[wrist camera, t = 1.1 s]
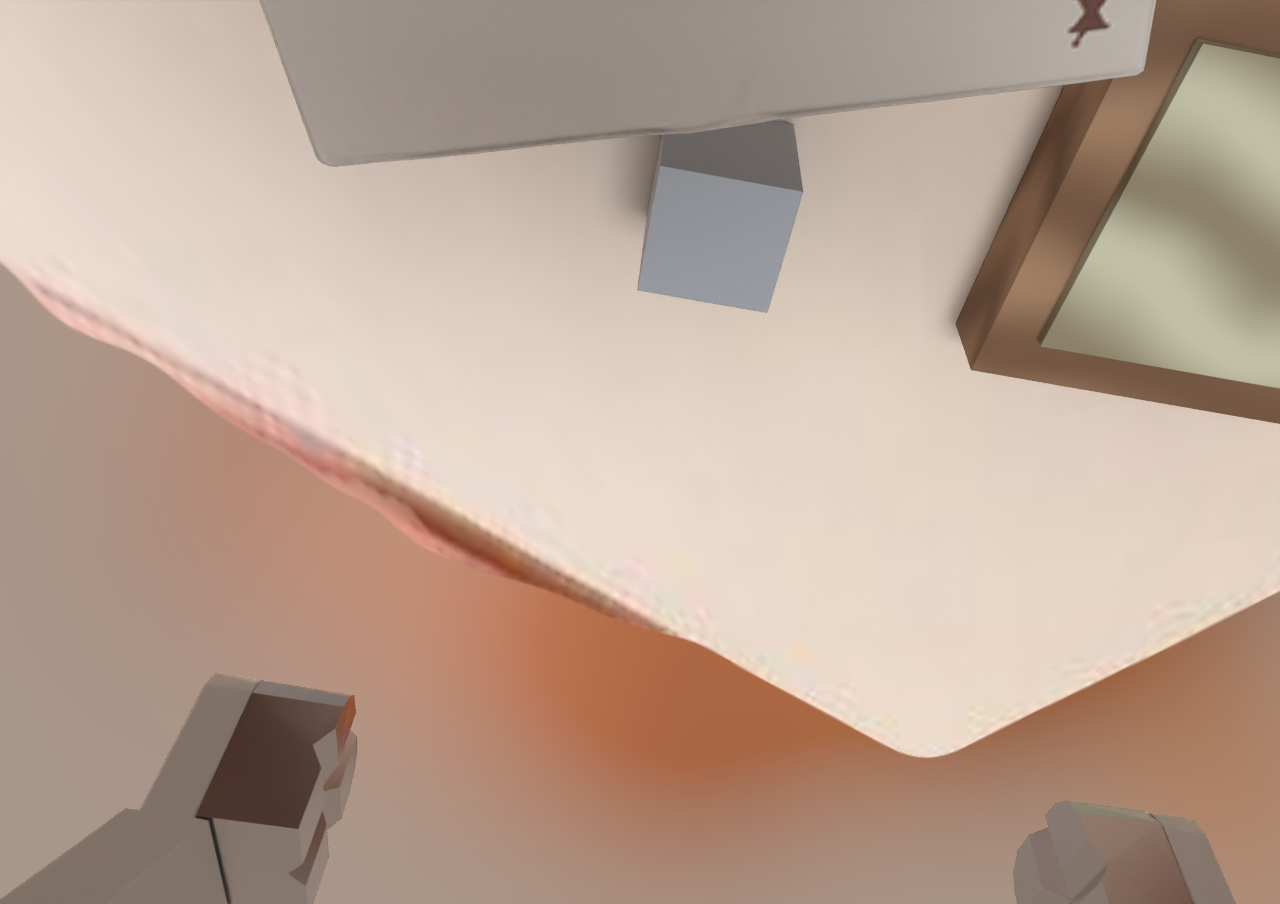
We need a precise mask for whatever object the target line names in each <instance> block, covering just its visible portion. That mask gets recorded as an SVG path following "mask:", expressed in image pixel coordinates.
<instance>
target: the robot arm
mask: <svg viewBox="0 0 1280 904" xmlns="http://www.w3.org/2000/svg"><path fill="white" fill-rule="evenodd" d="M355 714H356V708H355V697H354V695H350V694H344V693H337V692H331V691H324V690H318V689H312V688H306V687H299V686H293V685H287V684H279V683H274V682H267V681H264V680H259V679H252V678H245V677H238V676H231V675H225V674H218V673H215V674H214V676H212V678H211V679H210V680H209V681H208V682H207V683H206V684H205V685H204V687H203V688H202V690H201V692H200V694H199V696H198V698H197V700H196V702H195V704H194V705H193V708H192V709H191V711H190V713H189V715H188V717H187V719H186V721H185V723H184V725H183V727H182V729H181V731H180V733H179V735H178V737H177V739H176V740H175V743H174V745H173V746H172V748H171V750H170V752H169V754H168V756H167V758H166V760H165V762H164V764H163V766H162V768H161V769H160V772H159V773H158V775H157V777H156V779H155V781H154V783H153V785H152V787H151V789H150V791H149V793H148V795H147V797H146V799H145V801H144V803H143V805H142V807H141V808H140V810H138V809H128V808H125V809H124V810H122V811H121V812H120V813H118V814H117V815H116V816H114V817H113V818H111V819H110V820H109V821H107V822H106V823H105V824H103V825H102V826H100V827H99V828H98V829H96V830H95V831H93V832H92V833H91V834H89V835H88V836H87V837H85V838H84V839H83V840H81V841H80V842H78V843H77V844H76V845H74V846H73V847H71V848H70V849H69V850H67V851H66V852H65V853H63V854H62V855H61V856H59V857H58V858H56V859H55V860H54V861H52V862H51V863H49V864H48V865H47V866H46V867H44V868H43V869H42V870H40V871H39V872H37V873H36V874H34V875H33V876H32V877H30V878H29V879H27V880H26V881H25V882H23V883H22V884H21V885H19V886H18V887H16V888H15V889H14V890H12V891H11V892H10V893H8V894H7V895H6V896H4V897H3V898H1V899H0V904H313V902H314V899H315V896H316V893H317V890H318V887H319V884H320V881H321V878H322V875H323V872H324V869H325V866H326V863H327V860H328V857H329V852H328V836H327V830H328V829H329V828H330V827H331V826H333V825H334V824H335V823H336V822H337V821H339V820H340V819H341V818H342V815H343V812H344V809H345V805H346V802H347V799H348V796H349V793H350V788H351V784H352V779H353V775H354V770H355V763H356V755H357V736H356V735H355V734H354V733H353V732H352V731H351V730H350V729H351V726H352V723H353V719H354V717H355ZM1045 816H1046V820H1047V823H1048V828H1045V829H1043V830H1040V831H1038V832H1035V833H1033V834H1030V835H1029V836H1028V837H1027V838H1026V840H1025V841H1024V843H1023V844H1022V845H1021V847H1020V848H1019V849H1018V851H1017V856H1016V862H1015V867H1014V889H1015V896H1016V900H1017V904H1236V903H1235V901H1234V898H1233V896H1232V894H1231V891H1230V889H1229V887H1228V885H1227V882H1226V880H1225V878H1224V875H1223V873H1222V871H1221V869H1220V866H1219V864H1218V862H1217V860H1216V857H1215V855H1214V853H1213V850H1212V848H1211V846H1210V843H1209V841H1208V839H1207V837H1206V835H1205V833H1204V831H1203V830H1202V829H1201V828H1200V827H1199V825H1198V824H1197V823H1196V822H1195V821H1193V820H1190V819H1187V818H1184V817H1177V816H1169V815H1161V814H1154V813H1146V812H1145V811H1140V810H1133V809H1126V808H1118V807H1110V806H1103V805H1095V804H1088V803H1080V802H1072V801H1063V802H1059V803H1056V804H1054V805H1053V807H1052V808H1051V809H1050V810H1049V811H1048V812H1047V813H1046V815H1045Z"/></svg>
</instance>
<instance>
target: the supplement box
mask: <svg viewBox="0 0 1280 904" xmlns="http://www.w3.org/2000/svg"><path fill="white" fill-rule="evenodd" d="M260 3H261V5H262V8H263V11H264V14H265V17H266V19H267V22H268V25H269V28H270V31H271V33H272V36H273V39H274V42H275V45H276V47H277V50H278V53H279V56H280V58H281V61H282V64H283V67H284V70H285V72H286V75H287V78H288V81H289V84H290V86H291V89H292V92H293V95H294V98H295V100H296V103H297V106H298V109H299V112H300V114H301V117H302V120H303V123H304V125H305V128H306V131H307V133H308V136H309V139H310V142H311V144H312V147H313V150H314V153H315V155H316V157H317V159H318V160H319V161H320V162H321V163H323V164H326V165H328V166H333V167H336V166H347V165H357V164H366V163H375V162H385V161H399V160H412V159H425V158H438V157H447V156H456V155H466V154H475V153H484V152H493V151H502V150H510V149H518V148H527V147H535V146H544V145H553V144H563V143H572V142H581V141H590V140H600V139H610V138H621V137H632V136H646V135H663V134H683V133H694V132H701V131H708V130H714V129H721V128H728V127H735V126H742V125H748V124H755V123H761V122H767V121H774V120H780V119H787V118H795V117H802V116H810V115H818V114H827V113H835V112H844V111H852V110H861V109H869V108H877V107H886V106H894V105H903V104H912V103H921V102H929V101H938V100H946V99H954V98H962V97H971V96H979V95H987V94H995V93H1003V92H1011V91H1019V90H1027V89H1035V88H1043V87H1051V86H1059V85H1067V84H1076V83H1083V82H1090V81H1097V80H1103V79H1111V78H1118V77H1126V76H1134V75H1138V74H1139V73H1141V72H1143V71H1144V67H1145V62H1146V56H1147V50H1148V44H1149V39H1150V33H1151V27H1152V21H1153V16H1154V10H1155V4H1156V0H260Z"/></svg>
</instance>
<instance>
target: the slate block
mask: <svg viewBox="0 0 1280 904" xmlns="http://www.w3.org/2000/svg"><path fill="white" fill-rule="evenodd" d="M802 194H803V188H802V181H801V174H800V166H799V159H798V152H797V145H796V138H795V131H794V124H792V123H787V122H781V121H776V120H774V121H767V122H761V123H755V124H748V125H742V126H735V127H728V128H721V129H714V130H708V131H701V132H694V133H683V134H663V135H662V137H661V142H660V148H659V153H658V159H657V164H656V170H655V175H654V181H653V186H652V192H651V197H650V203H649V208H648V214H647V220H646V228H645V236H644V243H643V251H642V259H641V266H640V274H639V282H638V289H637V290H639V291H645V292H651V293H657V294H662V295H668V296H674V297H679V298H685V299H691V300H696V301H702V302H708V303H714V304H719V305H725V306H731V307H736V308H742V309H748V310H753V311H759V312H765V313H767V312H768V309H769V305H770V302H771V299H772V295H773V292H774V288H775V285H776V282H777V278H778V275H779V272H780V268H781V265H782V261H783V258H784V255H785V251H786V248H787V245H788V241H789V238H790V234H791V231H792V228H793V224H794V221H795V218H796V214H797V211H798V207H799V204H800V201H801V197H802Z"/></svg>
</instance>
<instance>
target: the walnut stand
mask: <svg viewBox="0 0 1280 904" xmlns="http://www.w3.org/2000/svg"><path fill="white" fill-rule="evenodd" d="M956 327H957V330H958V333H959V336H960V338H961V341H962V344H963V347H964V350H965V353H966V356H967V359H968V362H969V365H970V368H971V370H974V371H980V372H986V373H991V374H997V375H1003V376H1009V377H1014V378H1020V379H1026V380H1032V381H1037V382H1043V383H1049V384H1055V385H1060V386H1066V387H1072V388H1077V389H1083V390H1089V391H1095V392H1100V393H1106V394H1112V395H1118V396H1123V397H1129V398H1135V399H1141V400H1146V401H1152V402H1158V403H1164V404H1169V405H1175V406H1181V407H1187V408H1192V409H1198V410H1204V411H1210V412H1215V413H1221V414H1227V415H1233V416H1238V417H1244V418H1250V419H1256V420H1261V421H1267V422H1273V423H1279V424H1280V0H1156V4H1155V10H1154V16H1153V21H1152V27H1151V33H1150V39H1149V44H1148V50H1147V56H1146V62H1145V67H1144V71H1143V72H1141V73H1139V74H1138V75H1134V76H1126V77H1118V78H1111V79H1103V80H1097V81H1090V82H1083V83H1076V84H1067V85H1065V86H1064V88H1063V90H1062V92H1061V94H1060V97H1059V99H1058V101H1057V103H1056V105H1055V108H1054V110H1053V112H1052V114H1051V116H1050V119H1049V121H1048V123H1047V125H1046V127H1045V130H1044V132H1043V134H1042V136H1041V138H1040V140H1039V143H1038V145H1037V147H1036V149H1035V151H1034V154H1033V156H1032V158H1031V160H1030V162H1029V165H1028V167H1027V169H1026V171H1025V173H1024V176H1023V178H1022V180H1021V182H1020V184H1019V186H1018V189H1017V191H1016V193H1015V195H1014V197H1013V200H1012V202H1011V204H1010V206H1009V208H1008V211H1007V213H1006V215H1005V217H1004V219H1003V222H1002V224H1001V226H1000V228H999V230H998V232H997V235H996V237H995V239H994V241H993V243H992V246H991V248H990V250H989V252H988V254H987V257H986V259H985V261H984V263H983V265H982V268H981V270H980V272H979V274H978V276H977V278H976V281H975V283H974V285H973V287H972V289H971V292H970V294H969V296H968V298H967V300H966V303H965V305H964V307H963V309H962V311H961V314H960V316H959V318H958V320H957V322H956Z"/></svg>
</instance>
